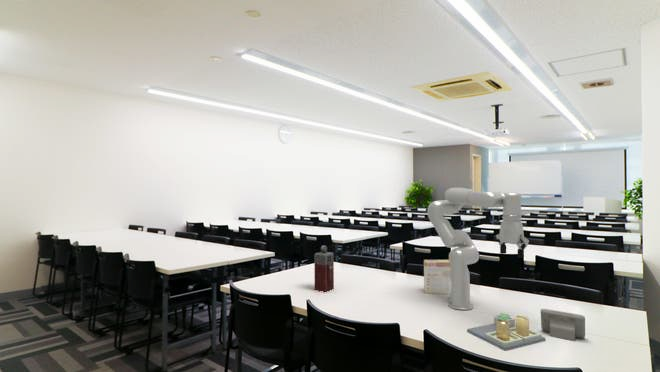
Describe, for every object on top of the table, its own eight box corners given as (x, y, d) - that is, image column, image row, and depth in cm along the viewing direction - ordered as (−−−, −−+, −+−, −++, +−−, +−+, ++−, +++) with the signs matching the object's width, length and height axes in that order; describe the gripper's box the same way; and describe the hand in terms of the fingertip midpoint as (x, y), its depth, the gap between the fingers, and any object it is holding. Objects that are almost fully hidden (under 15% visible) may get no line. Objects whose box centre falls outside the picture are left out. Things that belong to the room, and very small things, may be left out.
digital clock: (587, 338, 148) (587, 313, 148) (582, 345, 142) (581, 318, 142) (544, 327, 160) (544, 304, 160) (537, 333, 154) (537, 308, 154)
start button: (497, 323, 159) (497, 314, 160) (503, 322, 161) (503, 312, 161) (504, 327, 156) (504, 317, 156) (511, 325, 157) (511, 315, 157)
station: (467, 331, 156) (467, 312, 156) (504, 323, 165) (504, 305, 165) (505, 350, 137) (505, 328, 137) (545, 340, 146) (545, 320, 146)
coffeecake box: (448, 291, 218) (448, 259, 218) (451, 294, 211) (450, 262, 211) (423, 290, 220) (423, 259, 220) (425, 293, 212) (425, 261, 213)
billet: (493, 337, 147) (493, 319, 147) (502, 335, 149) (502, 318, 149) (503, 341, 142) (503, 323, 142) (512, 339, 144) (512, 322, 144)
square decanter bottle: (329, 293, 214) (329, 247, 215) (314, 290, 221) (314, 245, 221) (337, 289, 222) (336, 245, 222) (322, 287, 228) (322, 244, 228)
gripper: (491, 217, 171) (491, 252, 171) (522, 221, 155) (521, 259, 155) (502, 217, 174) (502, 251, 174) (534, 220, 158) (534, 258, 158)
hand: (511, 255), depth 165 cm, fingers open, 9 cm apart
